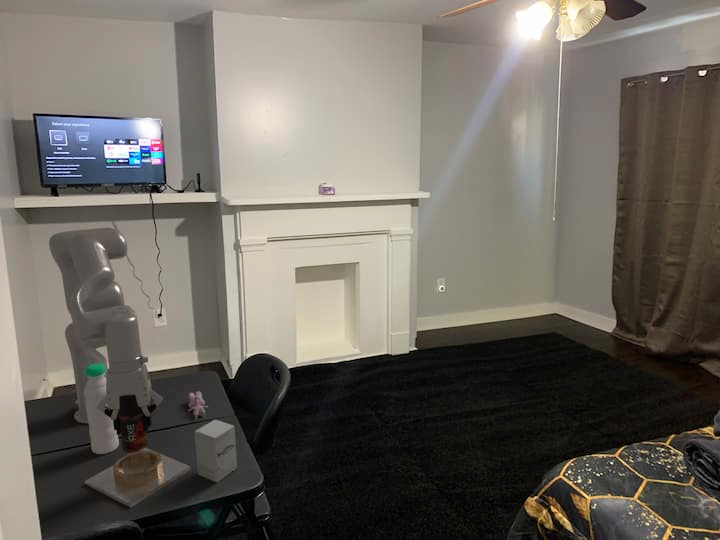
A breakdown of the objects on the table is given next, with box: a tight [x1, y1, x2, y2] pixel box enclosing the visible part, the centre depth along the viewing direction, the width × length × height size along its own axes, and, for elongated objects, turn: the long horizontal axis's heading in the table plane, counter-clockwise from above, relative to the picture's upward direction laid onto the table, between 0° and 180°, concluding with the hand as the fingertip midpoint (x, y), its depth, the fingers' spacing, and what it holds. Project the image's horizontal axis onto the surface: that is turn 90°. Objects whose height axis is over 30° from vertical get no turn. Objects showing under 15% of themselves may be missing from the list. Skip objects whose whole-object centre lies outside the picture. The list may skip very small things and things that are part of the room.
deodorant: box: [118, 395, 149, 453], centre depth 138 cm, size 6×6×15 cm
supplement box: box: [194, 419, 238, 483], centre depth 142 cm, size 7×7×13 cm
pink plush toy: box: [187, 391, 209, 420], centre depth 176 cm, size 6×6×15 cm
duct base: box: [84, 447, 191, 508], centre depth 141 cm, size 18×18×4 cm
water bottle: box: [84, 364, 120, 455], centre depth 152 cm, size 7×7×25 cm
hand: (133, 429), depth 138 cm, fingers closed on deodorant, 5 cm apart
